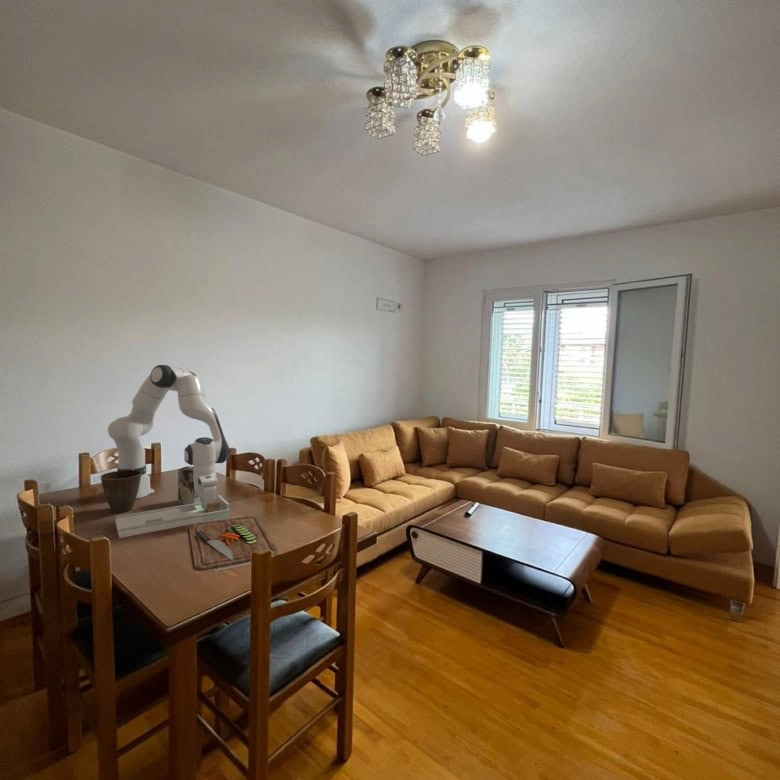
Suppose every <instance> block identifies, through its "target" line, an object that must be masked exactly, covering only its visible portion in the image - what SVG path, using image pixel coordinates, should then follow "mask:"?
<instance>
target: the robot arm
mask: <svg viewBox="0 0 780 780" xmlns="http://www.w3.org/2000/svg"><path fill="white" fill-rule="evenodd" d="M169 391H173V392H174V391H175V392H177V400H178V406H179V409H180V412H181V413H182V414H183V415H184V416H185V417H188V418H191V419H194V420H198V421H200V422H203V423H205V424H206V425H208V427H209V430H210V433H211V436H212V438H211V437H207V436H206V437H204V436H203V437H199V438H196V439H195V440H194V442H193V443H189V444H188V445H187V446H186V447H185V448H184V462H185V463H186V464H188V465H190V466H193V467H194V468H193V482H195V493H196V494H197V495H198V496H199V497H200V500H201V507H202V509H203V510H205V509H207V505H208V504H213V503H215V499H217V485H218V483H219V482H218V481H219V480H218V477H217V467H216V464H223V463H225V462H226V461H227V460H228V459H229V458H230V455H231V450H230V447H229V444H228V442H227V440H226V438H225V437H226V436H225V435H224V432H223V429H222V426H221V422H220V420H219V417H218V415H217V414H218V413H217V412H216V410H215V408H213V407H211V406H210V405H209V404H208V402H207V400H206V395H205V389H204V386H203V383H202V381H201V379H200V377H199V376H198V375H196V373H194V372H192V371H190V370H186V369H184V368H181V367H175V366H170V365H167V364H158V365H156V366H155V367H153V369H152V370H151V372H150V374H149V375H148V376H147V378H146V379H145V380H144V381H143V382H142V384H141V386H140V388H139V389H138V391H137V393H136V394H135V396H134V397H133V399H132V401H131V402H132V403H131V404H132V409H131V412H130V413H129V414H128V415H127V416H122V417H118V418H116V419H115V420H113V421H112V422H111V423H110V424H109V425H108V428H107V434H108V436H109V437H110V438H111V439H112V441H114V443H115V446H116V449H117V457H118V458H117V460H118V461H117V462H118V463H117V464H118V467H117V470H116V471H121V470H137V471H140V472H141V479H140V485H139V489H138V493H137V496H136V499H140V498H144V497H147V496H149V495H150V494H153V493H155V489H153V488H151V477H150V476H149V474H147V470H148V469H147V465H146V449H145V448H144V447H143V445H142V443H141V441H140V437H142V436H145V435H146V434H148V433H150V432H151V430H152V429H153V427H154V418H155V415H156V412H157V410H158V408H159V407H160V406H161V404H162V402H163V400H164V399H165V397H166V395H167V393H168V392H169Z"/></svg>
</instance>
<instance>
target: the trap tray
mask: <svg viewBox="0 0 780 780" xmlns="http://www.w3.org/2000/svg"><path fill="white" fill-rule="evenodd" d="M217 499H218V500H219V501H220V511H215V512H210V513H207V512H206V511H205V510H203V509H202V507H201V502H199V503H193V504H183V505H181V504H180V505H177V506H176V505H175V506H170V507H164V508H158V509H152V510H145V511H139V512H134V513H127V514H121V515H116V516H115V527H116V530H117V535H118V538H119V539H121V538H127V537H132V536H137V535H142V534H149V533H152V532H154V533H155V532H158V531H163V530H169V529H175V528H179V527H183V526H185V527H186V526H190V525H192V524H196V523H202V521H208V520H215V519H222V518H229V517H230V516H231V509H230V503H229V502H228V501H227V500H225V498H223V496H222V495H220V494H218V495H217Z"/></svg>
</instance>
